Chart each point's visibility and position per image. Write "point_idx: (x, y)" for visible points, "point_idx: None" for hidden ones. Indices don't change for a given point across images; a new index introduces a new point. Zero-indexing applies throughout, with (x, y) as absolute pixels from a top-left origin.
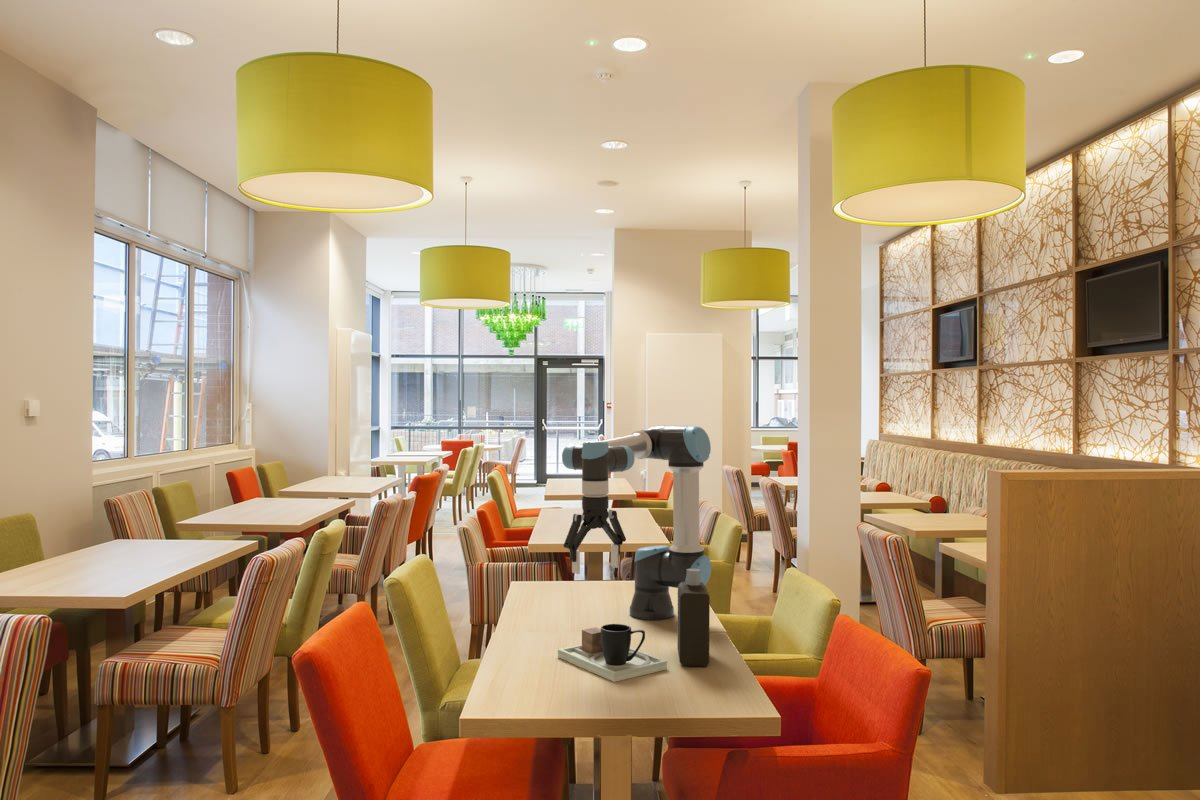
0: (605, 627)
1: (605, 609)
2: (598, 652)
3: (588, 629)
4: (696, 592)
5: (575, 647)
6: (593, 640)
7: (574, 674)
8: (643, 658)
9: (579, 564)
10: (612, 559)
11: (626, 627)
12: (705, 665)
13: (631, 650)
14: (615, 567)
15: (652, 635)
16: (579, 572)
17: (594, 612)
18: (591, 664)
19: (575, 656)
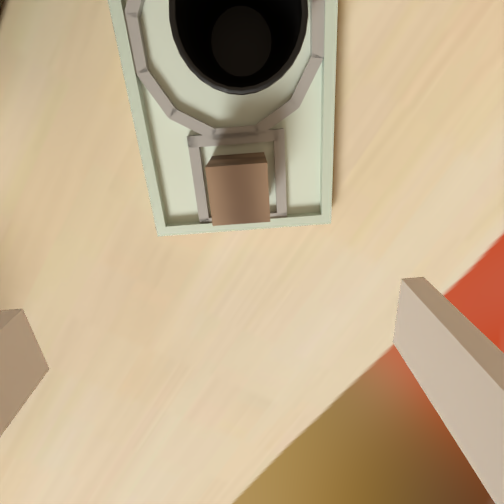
0: (257, 83)
1: (42, 456)
2: (240, 154)
3: (248, 216)
4: None
5: (278, 217)
6: (260, 159)
7: (383, 52)
8: (140, 23)
9: (446, 326)
10: (1, 398)
11: (178, 22)
12: None
13: (143, 110)
14: (26, 319)
15: (5, 256)
16: (408, 284)
17: (75, 449)
18: (335, 39)
19: (331, 138)
